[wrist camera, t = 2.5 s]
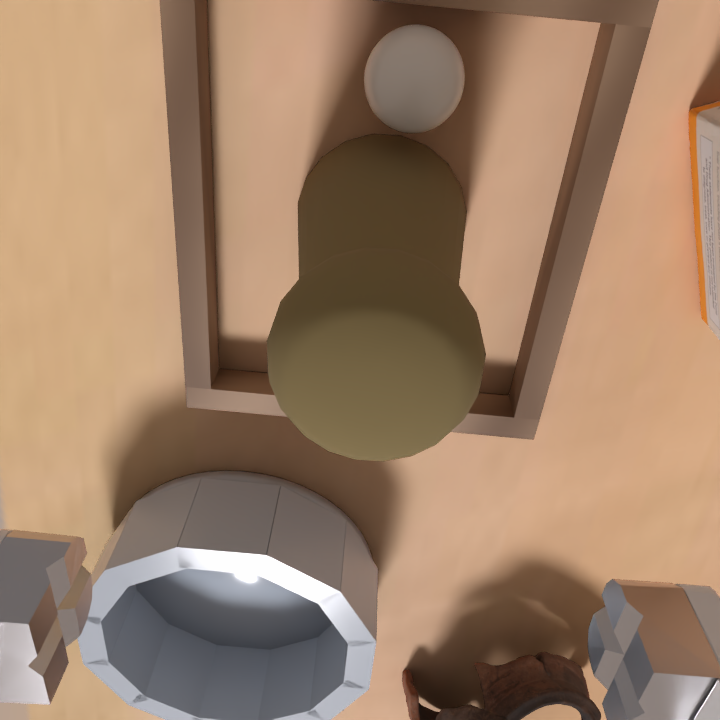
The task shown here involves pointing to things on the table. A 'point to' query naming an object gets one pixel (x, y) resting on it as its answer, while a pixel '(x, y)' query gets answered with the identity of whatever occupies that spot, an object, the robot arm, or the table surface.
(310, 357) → the cork
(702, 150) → the supplement box
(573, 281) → the tray
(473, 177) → the table surface
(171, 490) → the bowl
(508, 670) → the pottery mug
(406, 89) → the pebble
